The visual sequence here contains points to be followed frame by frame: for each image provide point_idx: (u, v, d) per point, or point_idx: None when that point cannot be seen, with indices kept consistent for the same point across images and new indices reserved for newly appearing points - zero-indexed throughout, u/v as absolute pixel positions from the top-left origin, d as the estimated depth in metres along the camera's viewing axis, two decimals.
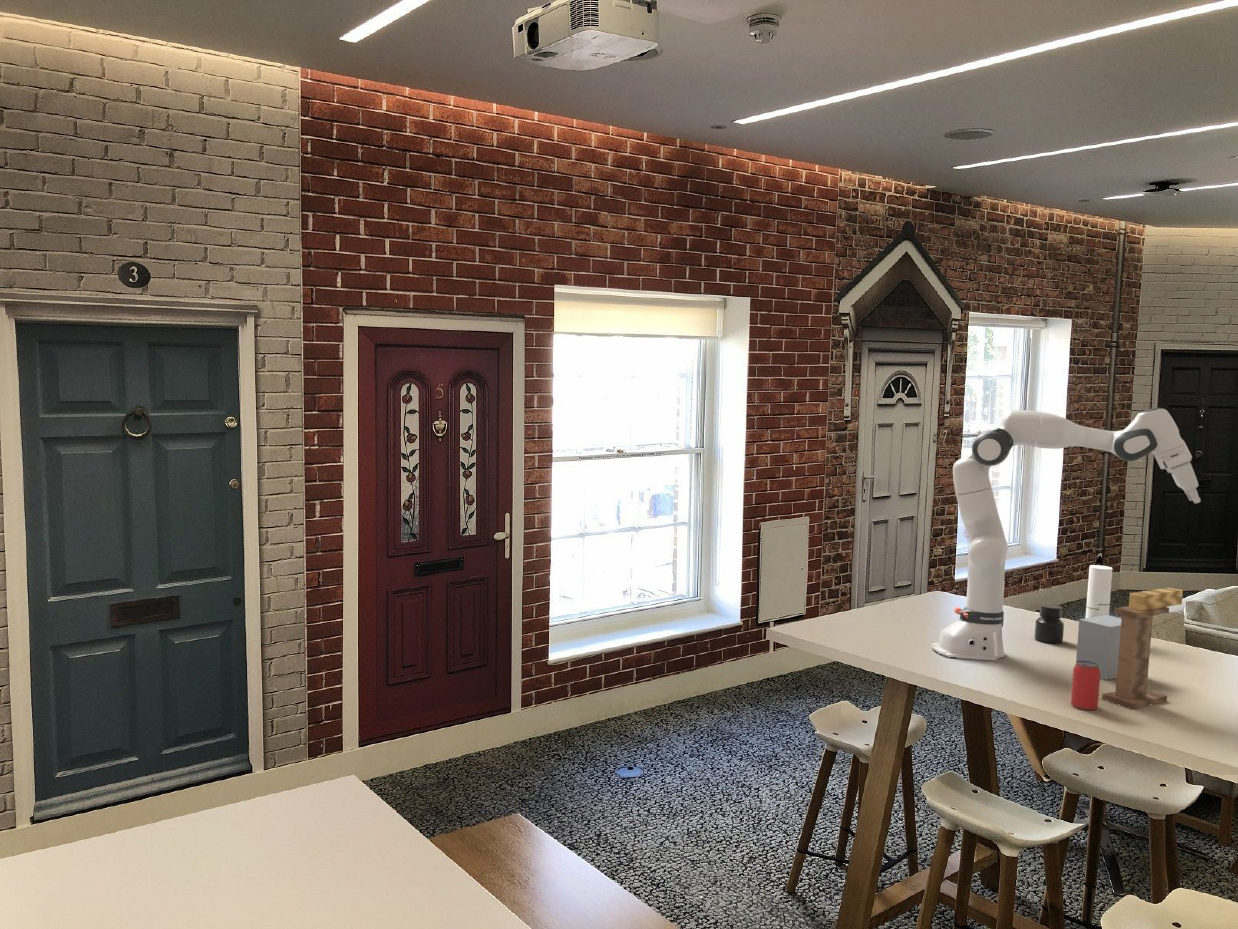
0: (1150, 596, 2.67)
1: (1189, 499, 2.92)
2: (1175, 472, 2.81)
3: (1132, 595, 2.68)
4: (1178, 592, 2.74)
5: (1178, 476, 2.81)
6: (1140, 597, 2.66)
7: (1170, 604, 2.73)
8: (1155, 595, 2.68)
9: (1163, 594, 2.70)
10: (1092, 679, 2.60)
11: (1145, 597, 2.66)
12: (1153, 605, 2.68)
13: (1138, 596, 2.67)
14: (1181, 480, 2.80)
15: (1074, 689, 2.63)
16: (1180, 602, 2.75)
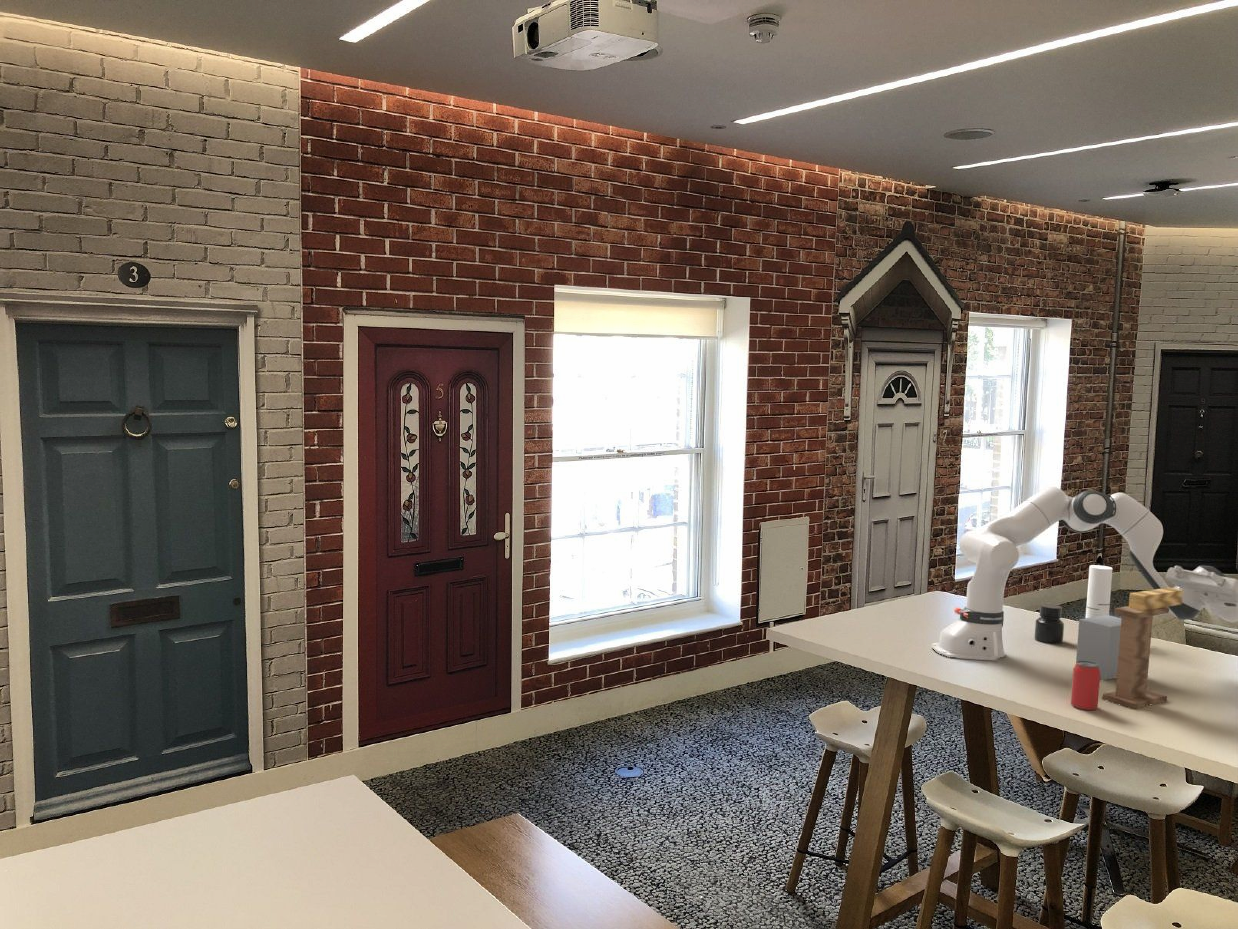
0: (1150, 596, 2.67)
1: None
2: None
3: (1132, 595, 2.68)
4: (1178, 592, 2.74)
5: None
6: (1140, 597, 2.66)
7: (1170, 604, 2.73)
8: (1155, 595, 2.68)
9: (1163, 594, 2.70)
10: (1092, 679, 2.60)
11: (1145, 597, 2.66)
12: (1153, 605, 2.68)
13: (1138, 596, 2.67)
14: None
15: (1074, 689, 2.63)
16: (1180, 602, 2.75)
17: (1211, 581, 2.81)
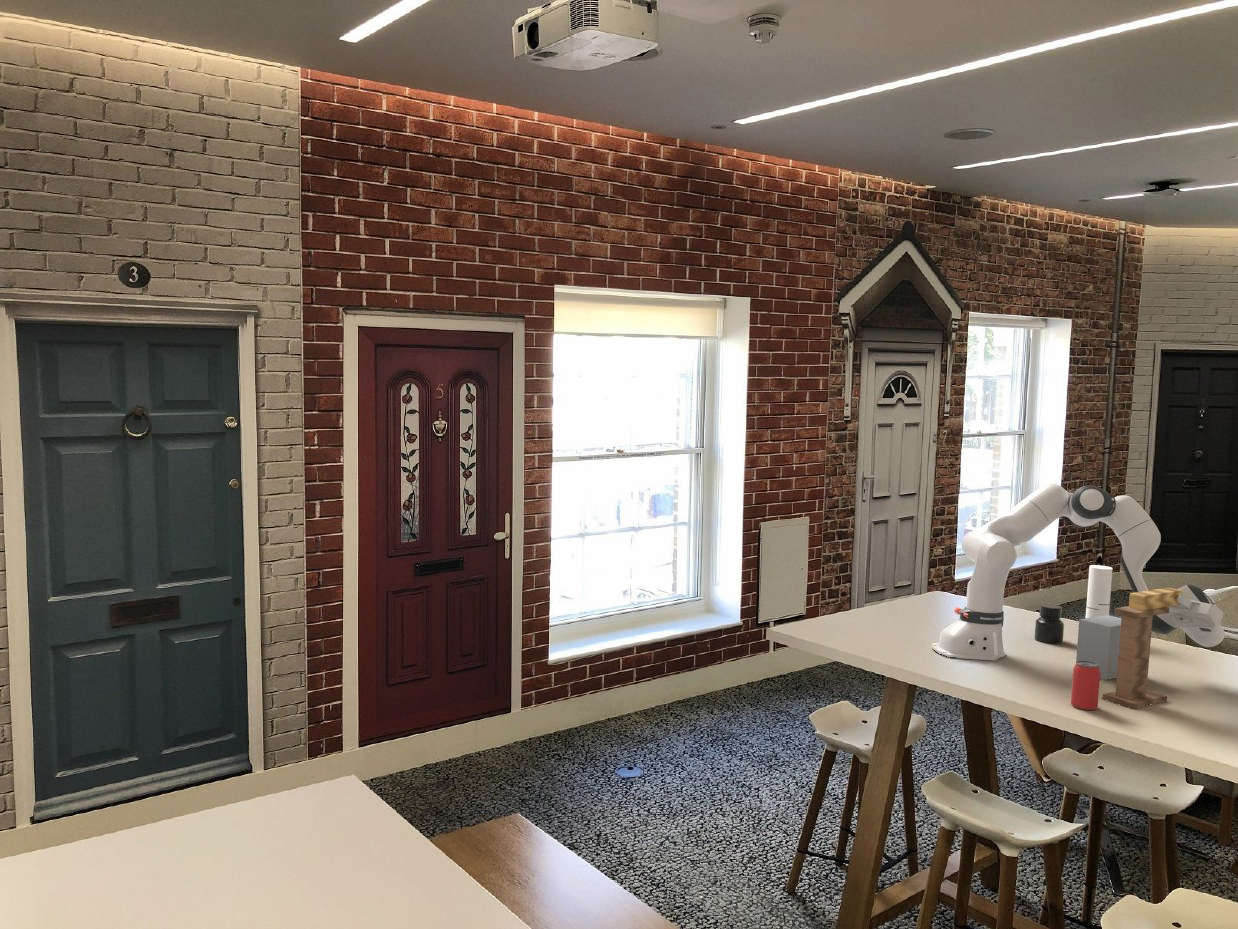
0: (1150, 596, 2.67)
1: None
2: (1220, 611, 2.73)
3: (1132, 595, 2.68)
4: (1178, 592, 2.74)
5: (1219, 610, 2.72)
6: (1140, 597, 2.66)
7: (1170, 604, 2.73)
8: (1155, 595, 2.68)
9: (1163, 594, 2.70)
10: (1092, 679, 2.60)
11: (1145, 597, 2.66)
12: (1153, 605, 2.68)
13: (1138, 596, 2.67)
14: (1218, 609, 2.71)
15: (1074, 689, 2.63)
16: None
17: None
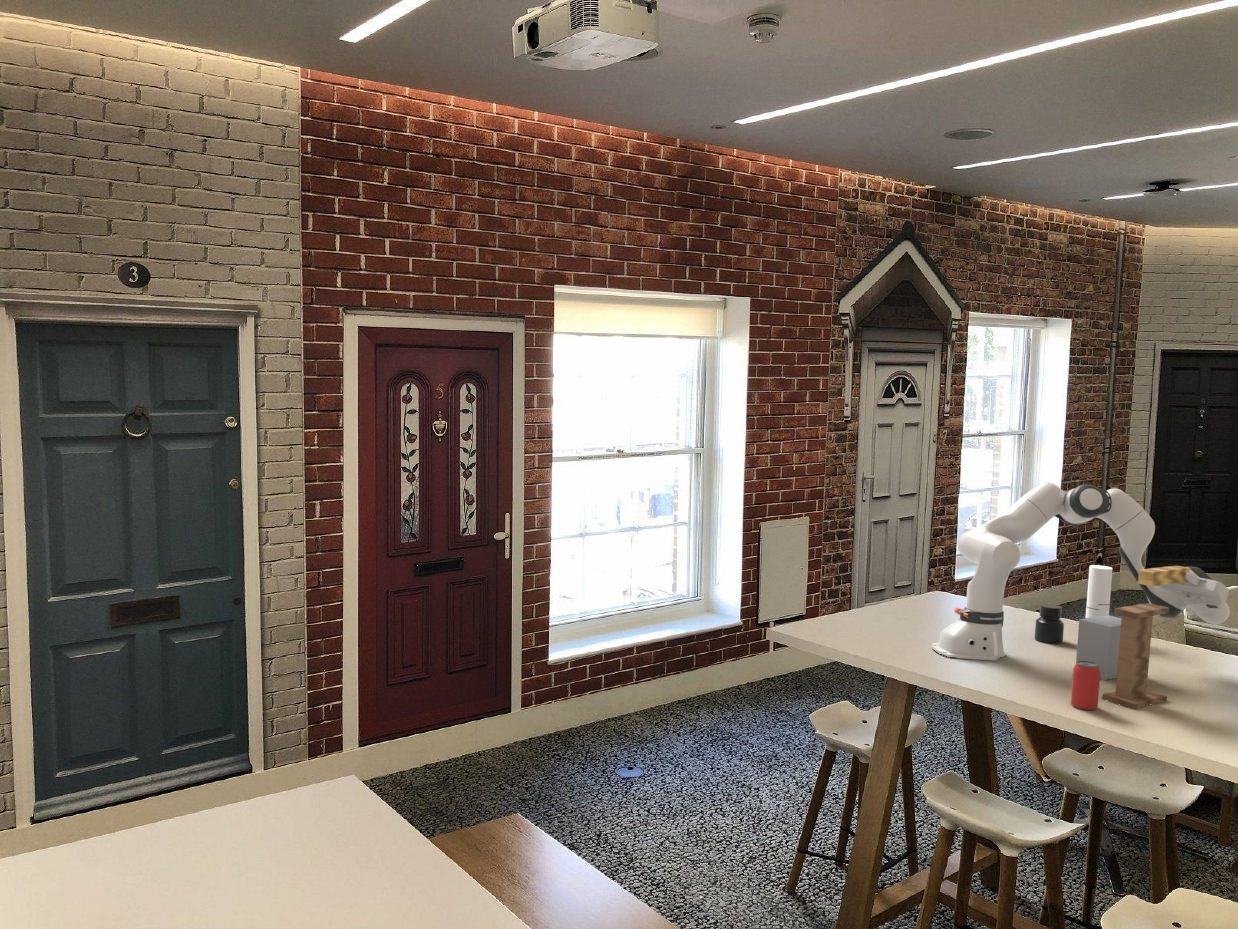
0: (1159, 572, 2.77)
1: None
2: (1226, 588, 2.83)
3: (1141, 571, 2.78)
4: (1185, 569, 2.84)
5: (1225, 587, 2.82)
6: (1149, 573, 2.76)
7: (1178, 581, 2.83)
8: (1163, 572, 2.78)
9: (1171, 571, 2.80)
10: (1092, 679, 2.60)
11: (1154, 573, 2.76)
12: (1161, 581, 2.78)
13: (1147, 572, 2.77)
14: (1224, 586, 2.81)
15: (1074, 689, 2.63)
16: None
17: None
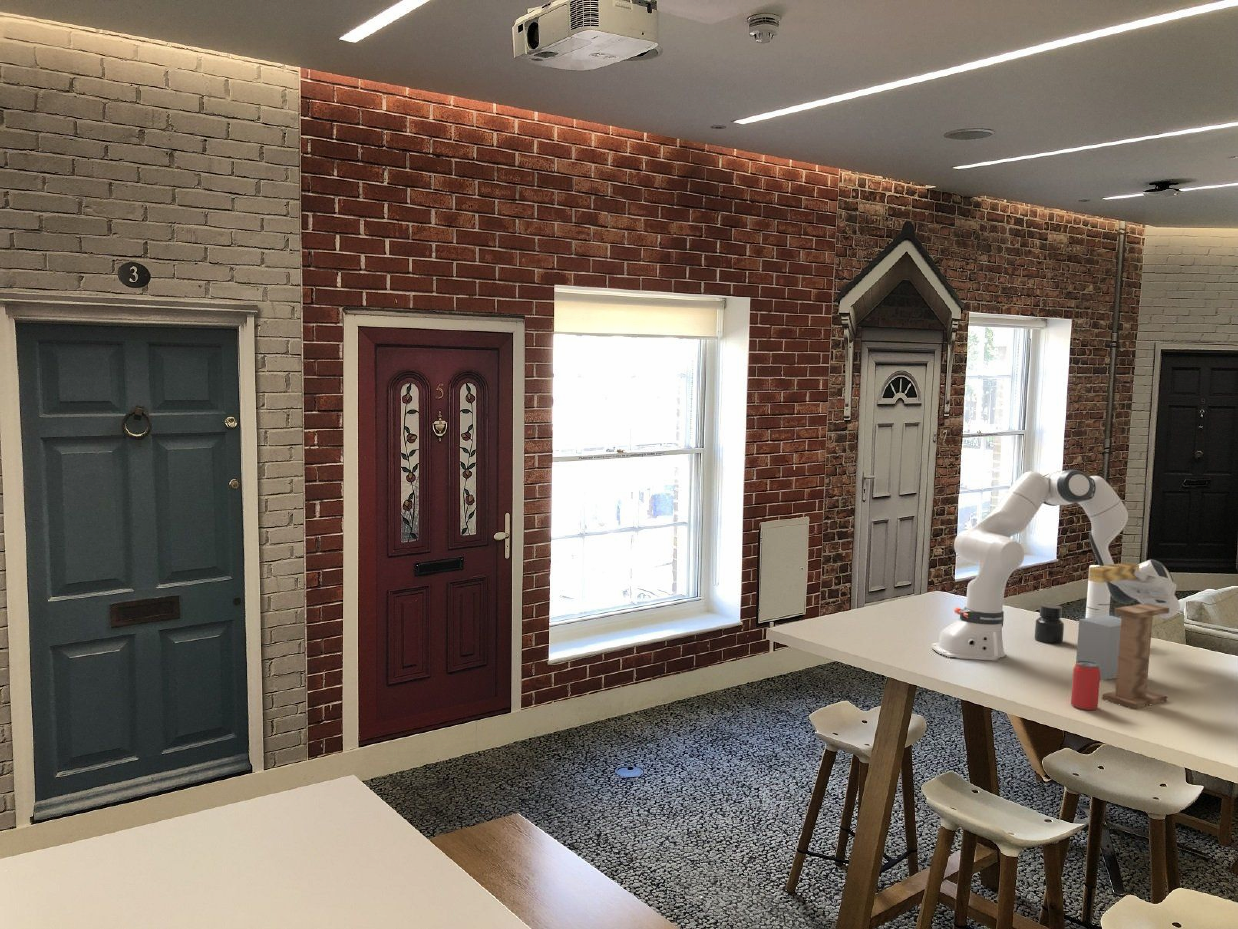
0: (1108, 570, 2.90)
1: None
2: (1173, 584, 2.96)
3: (1092, 569, 2.91)
4: (1135, 566, 2.97)
5: (1172, 583, 2.95)
6: (1099, 571, 2.89)
7: (1127, 577, 2.96)
8: (1113, 569, 2.92)
9: (1120, 568, 2.93)
10: (1092, 679, 2.60)
11: (1103, 570, 2.89)
12: (1110, 578, 2.91)
13: (1097, 570, 2.90)
14: (1171, 582, 2.94)
15: (1074, 689, 2.63)
16: None
17: None
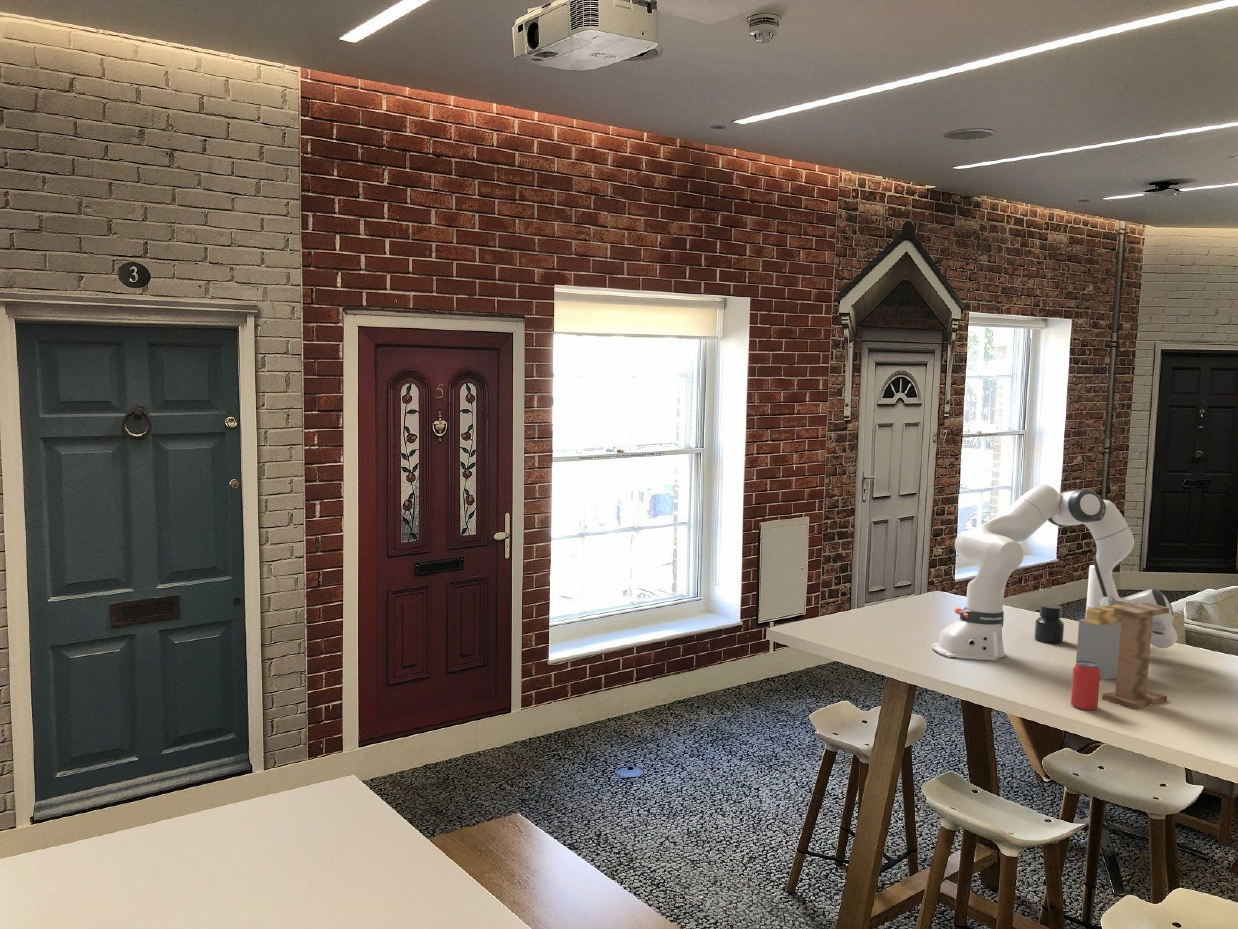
0: (1105, 612, 2.91)
1: (1114, 597, 3.03)
2: (1171, 616, 2.97)
3: (1089, 611, 2.93)
4: None
5: (1170, 615, 2.96)
6: (1096, 613, 2.91)
7: None
8: (1110, 611, 2.93)
9: None
10: (1092, 679, 2.60)
11: (1100, 613, 2.90)
12: (1107, 620, 2.92)
13: (1094, 612, 2.91)
14: (1168, 614, 2.95)
15: (1074, 689, 2.63)
16: None
17: None
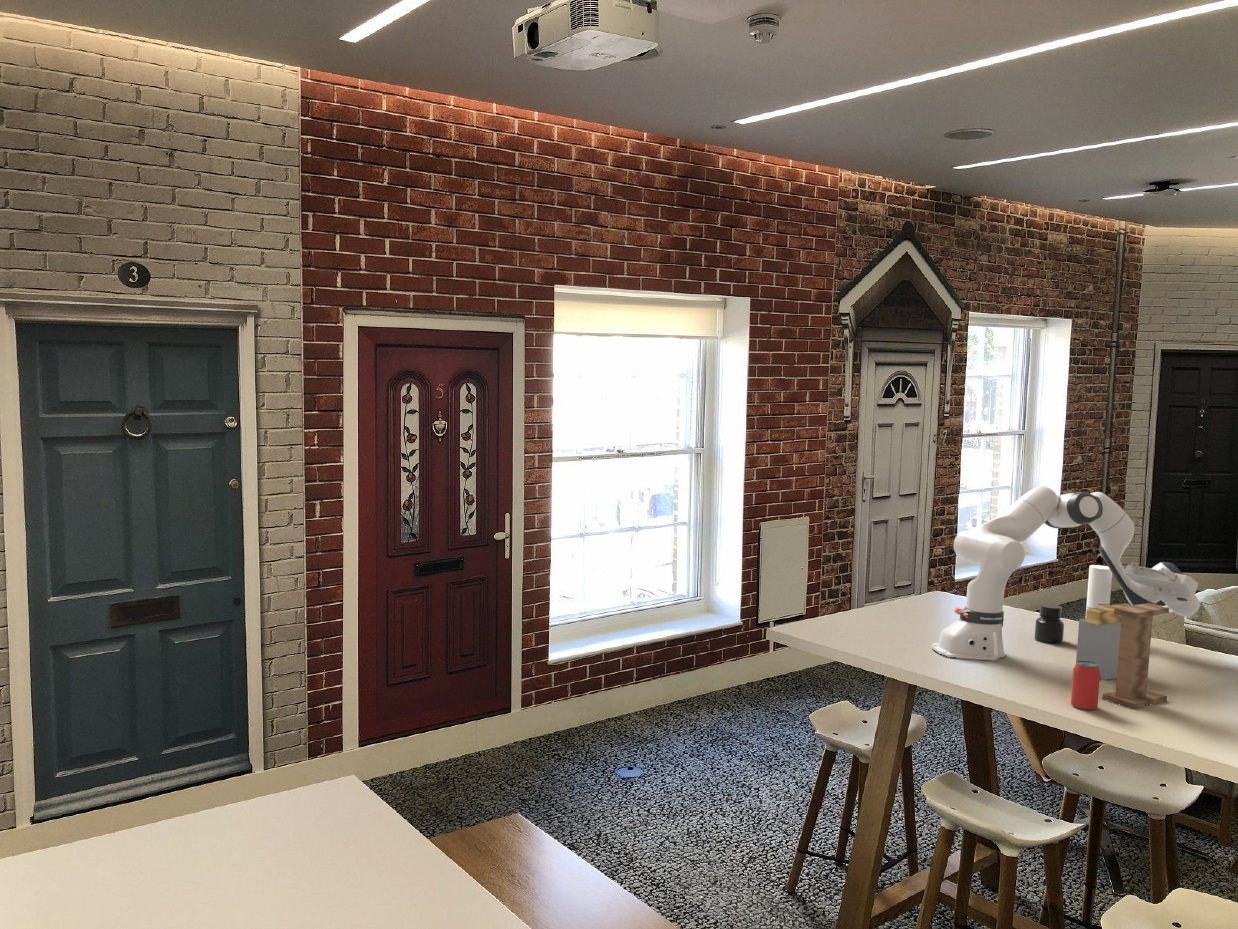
0: (1105, 612, 2.91)
1: (1137, 563, 3.08)
2: (1195, 582, 3.02)
3: (1089, 611, 2.93)
4: None
5: (1194, 581, 3.01)
6: (1096, 613, 2.91)
7: None
8: (1110, 611, 2.93)
9: None
10: (1092, 679, 2.60)
11: (1100, 613, 2.90)
12: (1107, 620, 2.92)
13: (1094, 612, 2.91)
14: (1193, 580, 3.00)
15: (1074, 689, 2.63)
16: None
17: (1164, 577, 3.05)
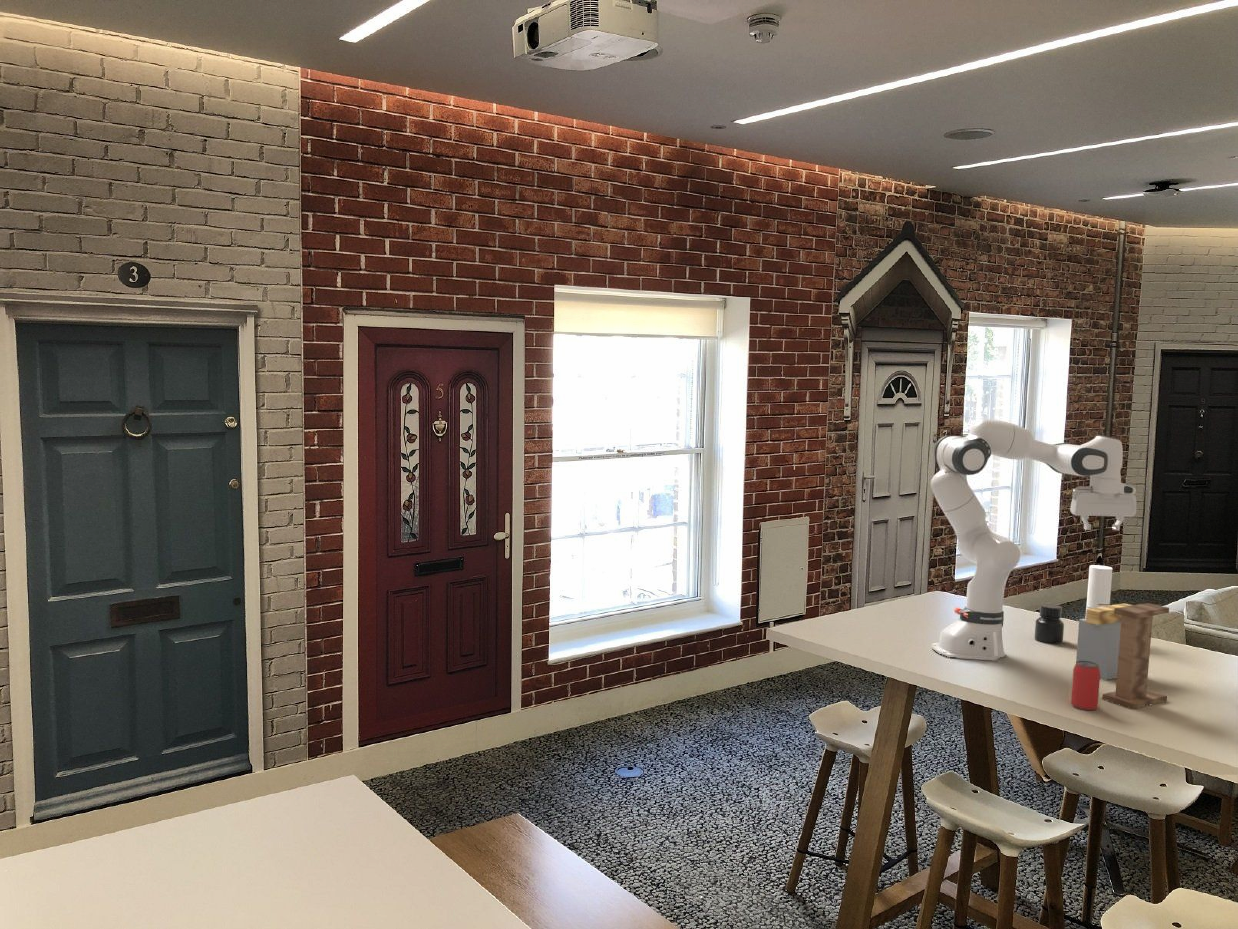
0: (1105, 612, 2.91)
1: None
2: (1135, 498, 3.10)
3: (1089, 611, 2.93)
4: None
5: None
6: (1096, 613, 2.91)
7: None
8: (1110, 611, 2.93)
9: None
10: (1092, 679, 2.60)
11: (1100, 613, 2.90)
12: (1107, 620, 2.92)
13: (1094, 612, 2.91)
14: None
15: (1074, 689, 2.63)
16: None
17: None
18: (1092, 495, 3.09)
